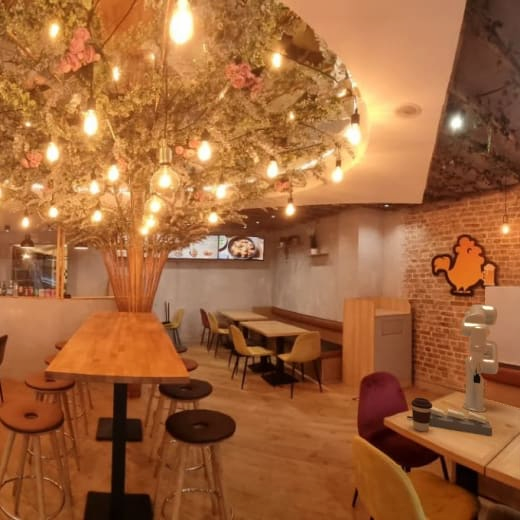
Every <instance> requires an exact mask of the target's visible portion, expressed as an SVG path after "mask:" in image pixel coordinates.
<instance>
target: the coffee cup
mask: <svg viewBox="0 0 520 520" xmlns="http://www.w3.org/2000/svg"><path fill="white" fill-rule="evenodd" d="M411 405H412V407H411V408H412V409H411V413H412V417H413V419H412V420H413V421H412V427H413V429H414V430H416V431H418V432H428V431H429V427H430V426H429V423H430V415H431V408H432V407H433V404H432V402H430V400H429V399H427V398H423V397H416V398H414V399H413V400H411Z"/></svg>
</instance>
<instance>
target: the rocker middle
mask: <svg viewBox="0 0 520 520" xmlns="http://www.w3.org/2000/svg"><path fill="white" fill-rule="evenodd" d="M446 415H449V416H452V417H456V418H460V419H463V420H464V418H466V417H465V413H464V412H462V411H457V410H454V409H451V408H447V409H446Z"/></svg>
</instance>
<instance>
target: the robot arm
mask: <svg viewBox="0 0 520 520" xmlns="http://www.w3.org/2000/svg"><path fill="white" fill-rule="evenodd" d="M497 318H498V309H497V307H495V306H494V305H492V304H491V305H489V304H473V305H472V306H470V308H469V310H467V311H465V312H464V317H463V318H462V319H461V324H460V332H461V334H462V335H463V336H466V337H468V340H467V341H468V346H467V347H468V352H469V353H470V354H471V355H468V356H466V358H465V360H464V363H465V371H466V372H465V374H466V377H465V383H466V384H465V403H462V408H463V409H465V410H467V411H470V412H477V413H478V412H479V413H483V412H486V411H487V408H486V407H485V406H484V394H485V393H484V392H485V390H484V389H485V388H484V387H485V381H484V380H485V379H484V378H483V376H482V375H481V374H488V375H496V374H498V371H499V346H498V344H497V342H495V341H493V340H487V338H488V337H489V336H490V334H491V327H490V326H495V324H496V323H497Z"/></svg>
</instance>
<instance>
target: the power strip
mask: <svg viewBox="0 0 520 520" xmlns="http://www.w3.org/2000/svg"><path fill="white" fill-rule="evenodd" d="M406 418H407V419H410V420H411V419H412V420H413V416H411V415H407V416H406ZM429 427H435V428H439V429H445V430H452V431H456V432H457V431H458V432H464V433H469V434H476V435H480V436H487V437H492V436H493V428H492V425H491V424H490V422H489V421H487V420H486V424H484V423H482V422H479V421H476V420H474V419H471V418H469V417H464V420H463V419H460V418H456V417H452V416H449V415H447V414H443V417H441V416H439V415H436V414H433V413H431V415H430V423H429Z"/></svg>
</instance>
